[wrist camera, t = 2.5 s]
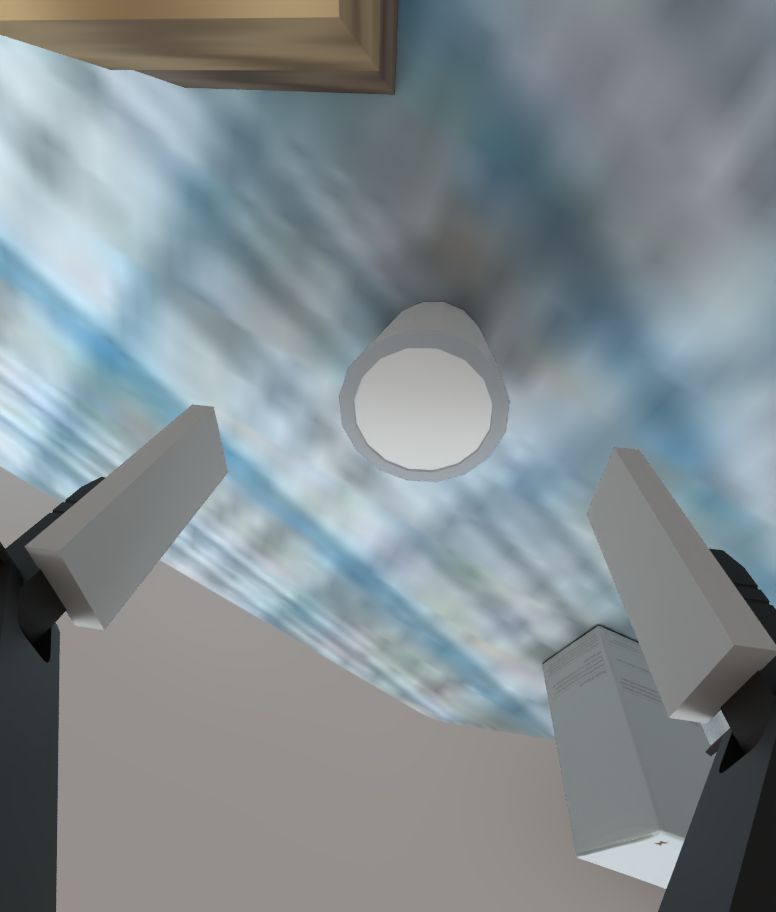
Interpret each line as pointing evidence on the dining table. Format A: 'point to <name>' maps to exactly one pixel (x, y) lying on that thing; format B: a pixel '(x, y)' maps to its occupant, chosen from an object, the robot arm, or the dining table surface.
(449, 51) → the dining table surface
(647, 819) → the supplement box
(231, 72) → the walnut block
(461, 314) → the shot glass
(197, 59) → the oak block
